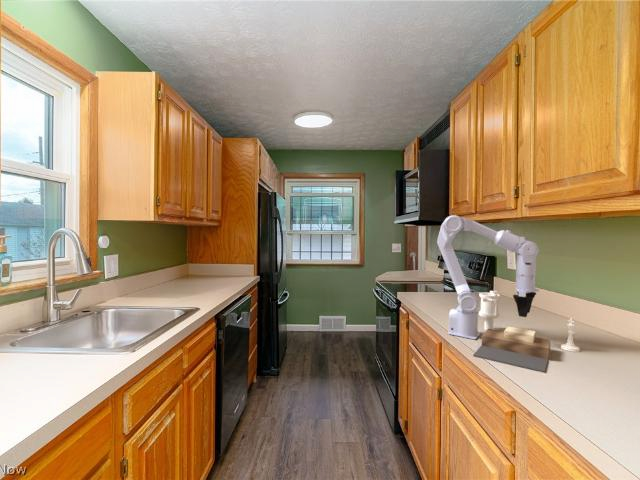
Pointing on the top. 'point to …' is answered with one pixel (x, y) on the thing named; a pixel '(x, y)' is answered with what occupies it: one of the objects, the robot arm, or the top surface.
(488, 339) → the walnut deck
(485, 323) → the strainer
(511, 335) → the birch tile
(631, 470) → the top surface
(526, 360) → the rubber mat
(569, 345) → the chess piece
